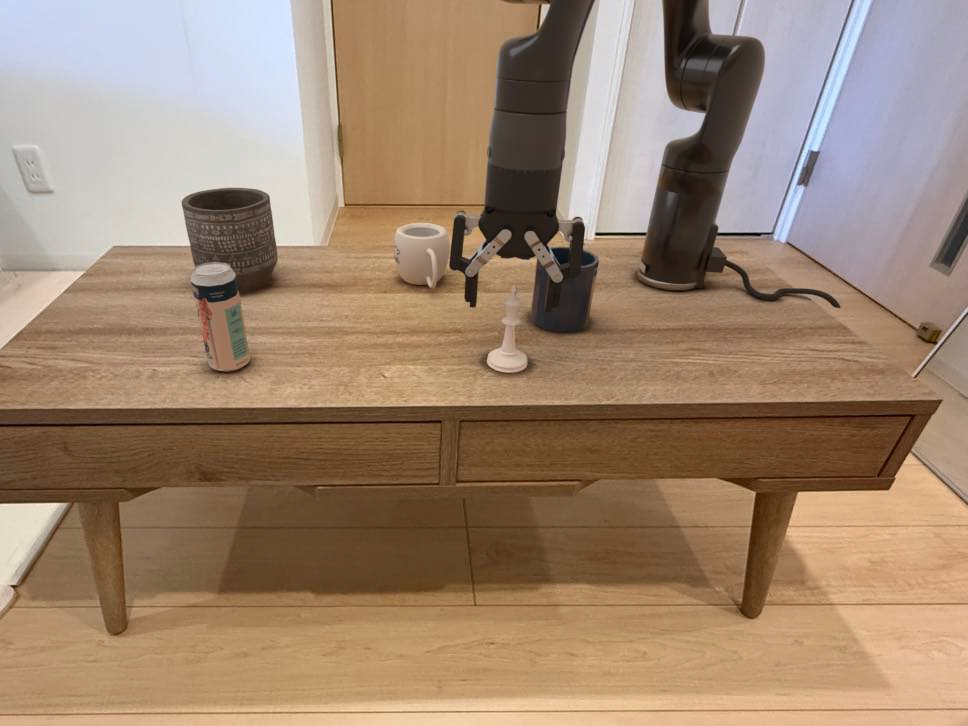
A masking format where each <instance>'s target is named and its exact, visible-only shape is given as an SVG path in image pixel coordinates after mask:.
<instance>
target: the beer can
mask: <svg viewBox="0 0 968 726" xmlns="http://www.w3.org/2000/svg"><path fill="white" fill-rule="evenodd" d="M190 284H191V285H190V286H191V289H192V294H193V300H194V303H195V308H196V313H197V317H198V321H199V326H200V331H201V336H202V340H203V345H204V349H205V353H206V359H207V362H208V363H207V364H208V366H209V367H210V368H212V369H213V370H216V371H219V372H224V373H225V372H226V373H227V372H234V371H238V370H240V369H242V368H243V367H245V366H246V365H247V364H249V363H250V360H251V355H250V350H249V344H248V337H247V332H246V326H245V320H244V314H243V308H242V303H241V302H242V301H241V297H240V293H239V291H238V285H237V279H236V274H235V272H234V271H233V270H232V269H231V267H230V266H229V265H228V264H226V263H220V262H211V263H204V264H201V265H199V266H196V267H195V266H194V268H193V269H192V273H191V276H190Z"/></svg>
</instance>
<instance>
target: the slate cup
mask: <svg viewBox="0 0 968 726" xmlns="http://www.w3.org/2000/svg"><path fill="white" fill-rule="evenodd" d="M549 247H550V246H549ZM550 249H551V250H552V252H553V255H554V256H555V258H556V259H557V261H558V263H559V264H560V265H561V264H565V263H568V257H569V246H552V247H550ZM599 263H600V260H599V257H598V255H596V254H595V253H593V252H592V251H589V250H586V249H584V248H583V255H582V265H581V274H580V276H579V277H577V278H572V277H571V278H567V279H565V280H564V281H563V282H562V284H561V291H560V297H559V304H558V306H557V307H556V308H552V311H551V313H550V312H545V308H544V305H545V297H546V289H547V282H548V275H549V274H548V273H547V271H546V269H545V268H544V267H543V266H542V265H541V263H540V261H539V260H538V258H537V257H536V262H535V271H534V280H533V289H532V297H531V306H530V321H531V323H533V324H534V325H535V326H537V327H538V328H541V329H543V330H546V331H550V332H553V333H554V332H555V333H574V332H579V331H581V330H584V329H585V328H586V327H587V326H588V323H589V321H590V315H591V309H592V303H593V298H594V292H595V286H596V281H597V275H598V270H599Z"/></svg>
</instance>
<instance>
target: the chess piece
mask: <svg viewBox="0 0 968 726" xmlns="http://www.w3.org/2000/svg"><path fill="white" fill-rule="evenodd" d="M518 292H519V287H518V285H517V284H513V283H512V285H511V291H510V293H509V297H507V298H505V299H504V300H503V305H504V307H505V312H506V315H505V316H503V317H502V319H501V323H503V324H504V325H506V326H505V331H504V336H503V339H502V344H501V346H500V347H499V348H495V349H493V350H491V351H490V352H489V353H488V355H487V359H486V364H487V365H488V366H489V368H491V369H493V370H495V371H497V372H500V373H506V374H507V373H518V372H521V371H523V370H525V369H526V368H527V366H528V357H527V355H526V353H524V352H523V351H521V350H519V349H517V348H516V327H515V326H517V325H519V324H521V319H520V318H519V317H518V316H517V315H518V313H519V310H520V308H521V306H522V300H521V299H520V298H517V293H518Z"/></svg>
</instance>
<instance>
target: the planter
mask: <svg viewBox="0 0 968 726" xmlns="http://www.w3.org/2000/svg"><path fill="white" fill-rule="evenodd" d="M181 208H182V212H183V217H184V224H185V229H186V233H187V238H188V242H189V247H190V253H191V257H192V262H193V266H194V268H195V267H196V266H199V265H201V264H204V263H211V262H220V263H226V264H228V265H229V266H230V267H231V269H232V270H233V271H234V272H235V274H236V279H237V285H238V291H239V294H246V293H251V292H255V291H258V290H260V289H262V288H264V287H265V286H267V284H268V282H269V281H270V279H271V277H272V275H273V272H274V271H275V268H276V266H277V263H278V259H279V256H278V248H277V241H276V236H275V235H276V234H275V227H274V219H273V211H272V205H271V197H270V195H269V194H268V193H267V192H265V191H263V190H261V189H256V188H247V187H222V188H221V187H220V188H213V189H207V190H200V191H197V192H193V193H190V194H188V195H186V196H184V197H183V198H182V200H181Z"/></svg>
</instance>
